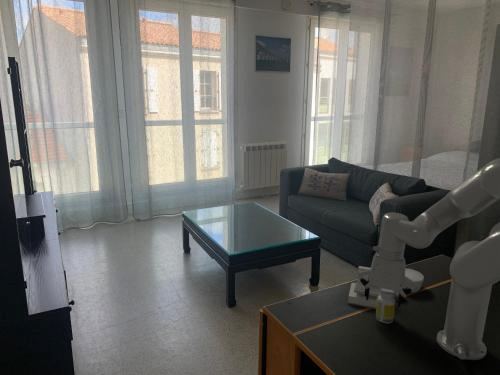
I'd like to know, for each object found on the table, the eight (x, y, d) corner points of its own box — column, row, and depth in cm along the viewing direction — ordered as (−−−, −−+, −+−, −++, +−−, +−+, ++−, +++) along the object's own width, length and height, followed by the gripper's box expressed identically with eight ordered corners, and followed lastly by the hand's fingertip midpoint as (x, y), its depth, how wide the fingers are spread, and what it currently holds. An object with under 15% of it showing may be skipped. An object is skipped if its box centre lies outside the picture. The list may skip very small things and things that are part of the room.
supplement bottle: (396, 318, 121) (399, 291, 119) (389, 326, 118) (392, 298, 115) (379, 312, 125) (382, 285, 123) (372, 319, 121) (375, 291, 119)
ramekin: (383, 283, 144) (384, 271, 143) (404, 277, 149) (405, 265, 148) (407, 297, 134) (409, 284, 133) (428, 290, 139) (430, 277, 138)
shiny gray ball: (401, 301, 132) (402, 293, 131) (387, 298, 134) (388, 291, 133) (400, 294, 136) (401, 287, 135) (388, 292, 138) (388, 285, 137)
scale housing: (385, 311, 126) (388, 283, 123) (347, 303, 130) (349, 277, 127) (385, 296, 135) (388, 270, 132) (350, 289, 139) (352, 264, 137)
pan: (380, 299, 126) (381, 295, 126) (353, 294, 129) (354, 290, 129) (381, 290, 132) (381, 285, 132) (355, 286, 135) (356, 281, 135)
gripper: (360, 252, 115) (353, 301, 120) (421, 263, 110) (412, 314, 114) (362, 243, 122) (356, 289, 127) (420, 253, 116) (411, 301, 121)
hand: (382, 301), depth 120 cm, fingers open, 9 cm apart
